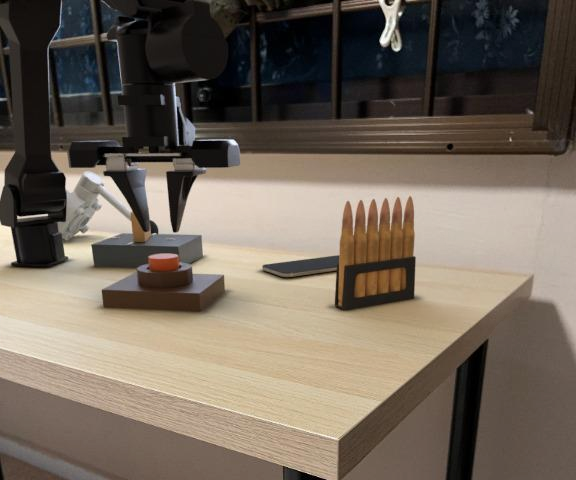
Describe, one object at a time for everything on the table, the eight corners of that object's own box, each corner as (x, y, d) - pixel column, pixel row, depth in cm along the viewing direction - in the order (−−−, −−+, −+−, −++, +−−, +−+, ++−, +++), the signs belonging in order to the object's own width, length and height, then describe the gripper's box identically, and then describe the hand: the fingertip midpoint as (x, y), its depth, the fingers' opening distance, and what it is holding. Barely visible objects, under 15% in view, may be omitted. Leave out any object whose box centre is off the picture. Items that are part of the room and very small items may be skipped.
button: (144, 273, 73) (143, 258, 72) (156, 267, 76) (154, 253, 75) (173, 274, 72) (172, 259, 71) (183, 267, 75) (182, 253, 75)
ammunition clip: (343, 310, 70) (345, 202, 65) (334, 306, 72) (336, 200, 67) (414, 297, 75) (421, 196, 70) (404, 294, 76) (411, 195, 72)
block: (145, 242, 94) (142, 210, 92) (133, 242, 94) (130, 210, 92) (151, 235, 100) (148, 205, 98) (140, 235, 100) (137, 205, 98)
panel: (94, 267, 94) (90, 243, 93) (124, 254, 104) (122, 232, 103) (180, 269, 92) (178, 245, 90) (203, 256, 102) (201, 233, 100)
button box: (103, 307, 72) (99, 274, 70) (138, 288, 81) (135, 258, 80) (200, 312, 70) (198, 277, 68) (225, 291, 79) (223, 260, 77)
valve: (110, 293, 117) (148, 236, 110) (28, 224, 115) (61, 160, 108) (136, 278, 126) (172, 224, 118) (60, 213, 124) (93, 153, 116)
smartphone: (369, 262, 92) (285, 273, 84) (369, 266, 92) (285, 278, 85) (340, 254, 98) (259, 264, 90) (340, 258, 98) (259, 269, 90)
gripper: (249, 88, 72) (253, 223, 78) (103, 92, 75) (118, 221, 81) (222, 81, 62) (230, 237, 68) (55, 86, 65) (76, 234, 71)
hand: (161, 231), depth 72 cm, fingers open, 3 cm apart
